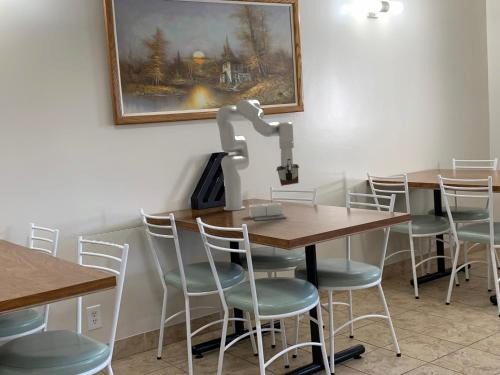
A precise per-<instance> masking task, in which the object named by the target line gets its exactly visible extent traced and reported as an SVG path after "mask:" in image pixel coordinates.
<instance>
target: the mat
mask: <svg viewBox="0 0 500 375" xmlns="http://www.w3.org/2000/svg"><path fill="white" fill-rule="evenodd" d="M287 218H288V217H287V216H285V214H283V213H282V215H272V216H267V215H266V216H261V217H253V218H252V219H253V220H254V221H255V222H261V221H263V222H264V221H271V220H272V221H273V220H274V221H276V220H285V219H287Z"/></svg>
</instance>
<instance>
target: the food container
mask: <svg viewBox="0 0 500 375" xmlns="http://www.w3.org/2000/svg"><path fill="white" fill-rule="evenodd" d="M287 167H288V166H287ZM287 169H288V168H287ZM291 169H292V180H288V181H287V180H286V167H285V168H284V167H282V166H281V165H279V166H277V167H276V172H277V174H278V179H279V182H280V186H281V187H283V186H289V185H296V184H299V183H300V182H299V169H300V166H299V164H298V163H293V166H292V167H291Z"/></svg>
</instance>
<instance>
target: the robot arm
mask: <svg viewBox="0 0 500 375" xmlns="http://www.w3.org/2000/svg"><path fill="white" fill-rule="evenodd" d="M264 114H265V113H264V111H263V109H261V104H260V102H259V101H258V100H257V99H253V98H249V99H241V100H239V101H238V102H237V103H236V104H231V105H224V106H221V107H219V109H218V110H217V112H216V118H215V119H216V122H217V127H218V130H219V138H220V145H221V149H222V151H223V152H224V153H228V154H227V155H225V156H224V157H222V159H221V162H220V164H221V169H222V172H223V181H224V182H223V183H224V194H225V195H224V196H225V206H224V207H223V210H224V211H240V210H244V208H245V209H246V205H243V197H242V195H243V194H242V182H241V176H240V173H239V171H243V170H246V169H247V168H248V167H249V165H250V159H249V158H250V157H249V150H248V143H247V140H246V139H245V137H244V136H242V135H235V134H236V133H235V129H234V126H233V123H231V122H230V121H240V120H244V119H247V120H248V121H249V122H251V123H252V127H253V128H254V130H255V131H256V132H257V133H258V134H260V135H261V136H263V137H266V138H271V137H278V141H279V143H278V144H279V149H280V166H282V167H284V168H285V167H286V180H287V181H288V180H292V169H291V167H292V166H293V164H294V160H293V159H294V158H293V149H295V146H294V144H295V143H294V126H293V125H294V124H293V122H291V121H287V122H286V121H284V122H282V121H272V122H271V121H269V122H266V121H265V120H263V118H264ZM230 153H235V154H230ZM287 166H288V167H287ZM287 168H288V169H287Z"/></svg>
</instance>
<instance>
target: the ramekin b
mask: <svg viewBox="0 0 500 375" xmlns="http://www.w3.org/2000/svg"><path fill="white" fill-rule="evenodd" d="M263 204H264V205H265V206H266V215H267V216H272V215H282V214H283V206H282V203H280V202H270V203H263Z"/></svg>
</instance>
